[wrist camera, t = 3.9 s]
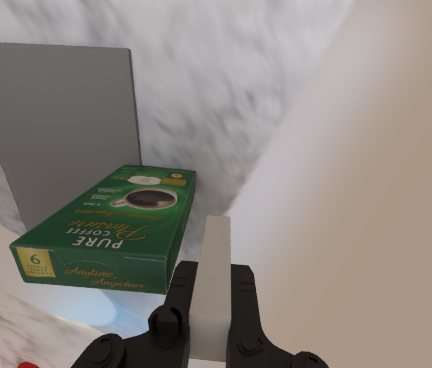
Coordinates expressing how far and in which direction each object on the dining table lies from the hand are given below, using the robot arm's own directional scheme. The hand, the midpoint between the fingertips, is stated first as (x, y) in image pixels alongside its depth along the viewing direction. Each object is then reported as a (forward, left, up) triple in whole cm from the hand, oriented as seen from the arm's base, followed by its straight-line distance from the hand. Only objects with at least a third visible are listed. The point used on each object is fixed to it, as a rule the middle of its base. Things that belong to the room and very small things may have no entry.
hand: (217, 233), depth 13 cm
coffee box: (-7, 0, -9) cm, 12 cm away
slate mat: (-17, 0, -9) cm, 19 cm away
